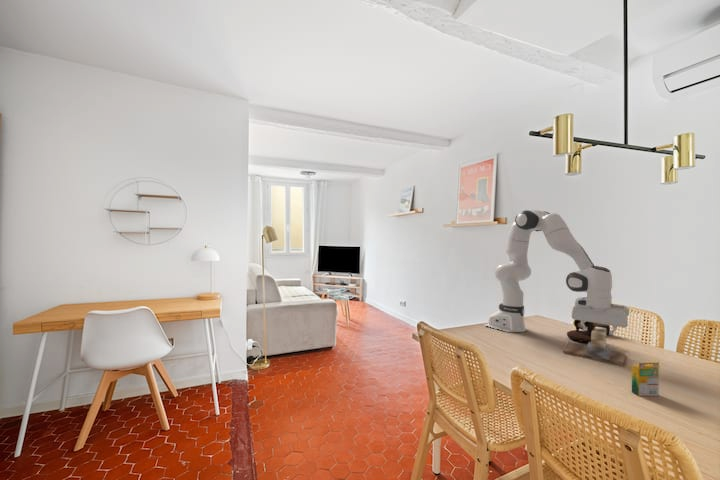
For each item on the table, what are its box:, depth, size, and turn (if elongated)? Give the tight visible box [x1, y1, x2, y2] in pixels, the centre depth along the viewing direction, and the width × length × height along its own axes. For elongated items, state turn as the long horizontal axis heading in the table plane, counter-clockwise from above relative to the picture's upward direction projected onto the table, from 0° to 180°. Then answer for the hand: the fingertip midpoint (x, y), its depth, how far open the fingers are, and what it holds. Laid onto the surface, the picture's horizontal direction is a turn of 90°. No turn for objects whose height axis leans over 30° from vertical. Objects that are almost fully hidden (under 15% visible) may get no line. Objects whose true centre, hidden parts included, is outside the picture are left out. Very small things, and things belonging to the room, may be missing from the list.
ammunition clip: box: [593, 323, 611, 336], centre depth 176 cm, size 11×2×12 cm, turn 77°
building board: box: [562, 327, 626, 367], centre depth 146 cm, size 22×16×11 cm
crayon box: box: [631, 361, 660, 397], centre depth 109 cm, size 7×3×12 cm, turn 92°
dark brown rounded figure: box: [566, 320, 594, 344], centre depth 165 cm, size 15×15×20 cm
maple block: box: [591, 331, 607, 349], centre depth 141 cm, size 5×5×6 cm
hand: (598, 332), depth 142 cm, fingers open, 8 cm apart
